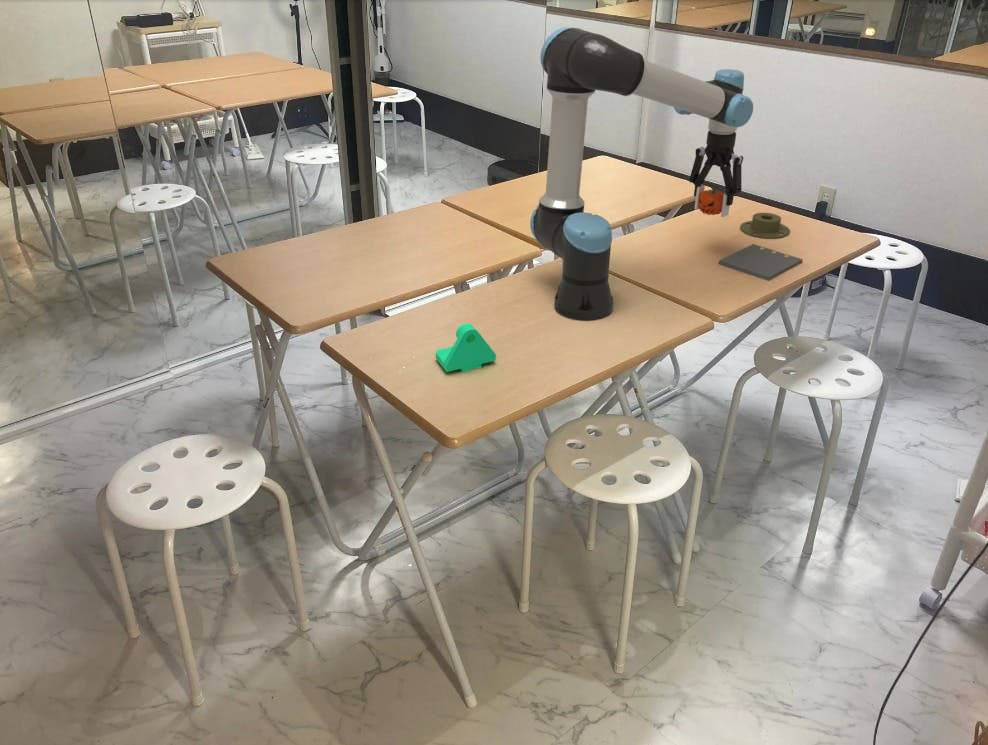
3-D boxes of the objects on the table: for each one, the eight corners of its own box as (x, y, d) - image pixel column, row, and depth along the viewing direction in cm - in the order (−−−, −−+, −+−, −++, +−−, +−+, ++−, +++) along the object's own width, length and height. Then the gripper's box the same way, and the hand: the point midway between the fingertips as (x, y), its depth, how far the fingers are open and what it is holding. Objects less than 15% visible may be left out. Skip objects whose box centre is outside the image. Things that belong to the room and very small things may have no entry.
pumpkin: (706, 206, 231) (709, 181, 227) (730, 213, 226) (734, 188, 222) (690, 213, 227) (693, 187, 223) (715, 220, 222) (718, 194, 218)
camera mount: (482, 349, 187) (481, 310, 182) (496, 364, 181) (495, 324, 176) (434, 360, 183) (432, 320, 177) (446, 376, 177) (444, 335, 172)
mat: (768, 280, 218) (769, 275, 218) (718, 263, 228) (719, 259, 228) (802, 262, 229) (802, 257, 228) (752, 247, 239) (753, 242, 238)
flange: (775, 229, 239) (801, 217, 248) (732, 217, 249) (758, 205, 258) (773, 244, 242) (798, 231, 250) (730, 231, 251) (756, 219, 260)
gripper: (764, 135, 210) (750, 217, 222) (697, 121, 223) (688, 200, 235) (749, 140, 206) (736, 224, 218) (681, 126, 219) (672, 206, 230)
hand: (711, 211), depth 226 cm, fingers closed on pumpkin, 8 cm apart
